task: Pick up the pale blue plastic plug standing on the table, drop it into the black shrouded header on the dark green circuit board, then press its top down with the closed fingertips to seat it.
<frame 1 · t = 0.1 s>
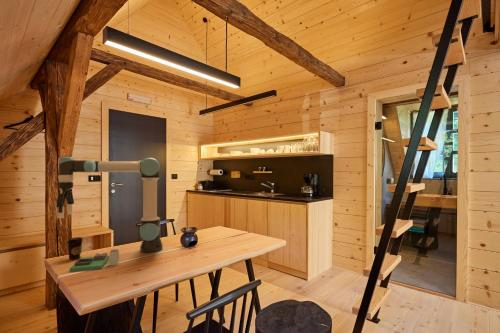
hand: (65, 216, 165), 28 cm above the table, fingers open, 13 cm apart
plug: (114, 264, 160), on the table
coffee cup: (75, 259, 169), on the table
board: (90, 265, 158), on the table
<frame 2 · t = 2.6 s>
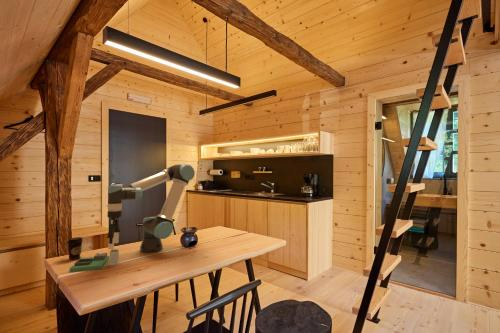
hand: (113, 246, 160), 11 cm above the table, fingers open, 13 cm apart
nothing on the table moved.
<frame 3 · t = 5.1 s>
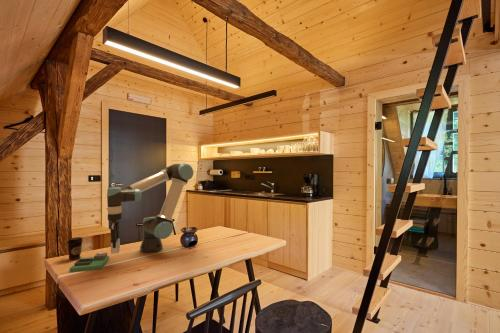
hand: (115, 251, 161), 7 cm above the table, fingers closed on plug, 4 cm apart
plug: (115, 252, 161), point 7 cm above the table, touching gripper
everything else where it was.
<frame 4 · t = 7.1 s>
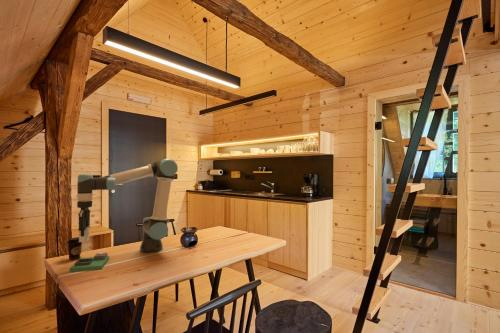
hand: (84, 240, 156), 15 cm above the table, fingers closed on plug, 4 cm apart
plug: (83, 241, 156), point 15 cm above the table, touching gripper
everything else where it was.
when the fingers open (4 cm above the table, at t = 9.2 s): plug drops 2 cm, resting on board.
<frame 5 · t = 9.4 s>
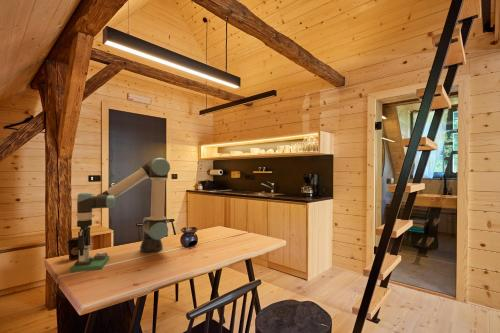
hand: (84, 258, 156), 5 cm above the table, fingers open, 7 cm apart
plug: (83, 263, 156), point 2 cm above the table, touching board
everything else where it was.
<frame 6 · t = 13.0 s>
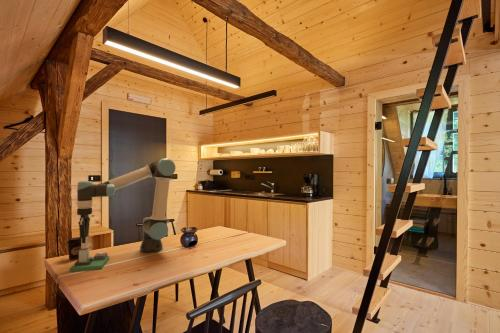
hand: (84, 248, 156), 11 cm above the table, fingers closed
nothing on the table moved.
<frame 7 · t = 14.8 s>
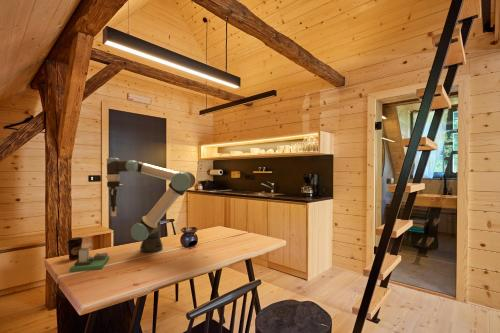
hand: (113, 216, 178), 26 cm above the table, fingers closed
nothing on the table moved.
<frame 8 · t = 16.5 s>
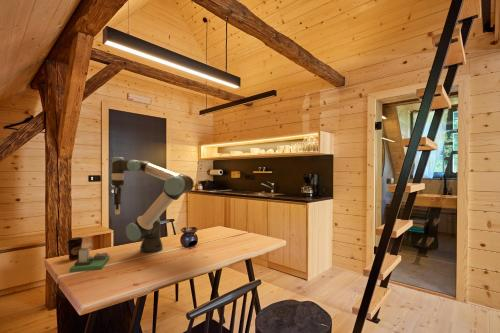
hand: (117, 214, 183), 26 cm above the table, fingers closed
nothing on the table moved.
at the end: plug 0.1 cm from the target spot on the board, point 2.0 cm above the board's base; plug tilted 0°; the gripper is holding nothing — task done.
